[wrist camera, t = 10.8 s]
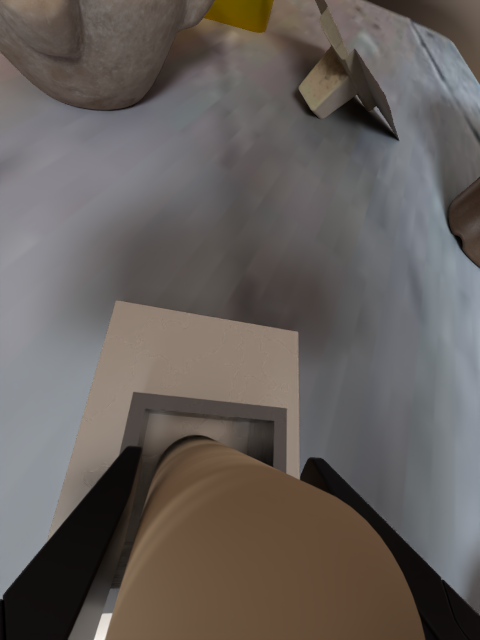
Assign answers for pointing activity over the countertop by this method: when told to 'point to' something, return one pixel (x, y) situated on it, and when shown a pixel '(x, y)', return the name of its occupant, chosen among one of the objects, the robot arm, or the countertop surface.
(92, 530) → the robot arm
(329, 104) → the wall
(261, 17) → the element tile
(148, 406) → the post socket base
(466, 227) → the plant pot
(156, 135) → the countertop surface
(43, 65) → the mortar
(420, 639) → the rail post
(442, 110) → the countertop surface
